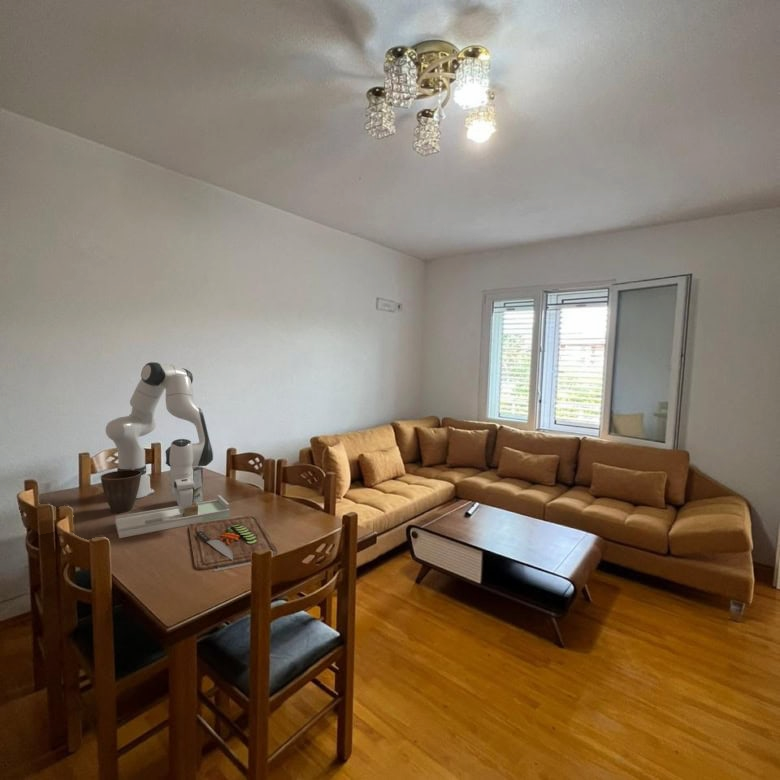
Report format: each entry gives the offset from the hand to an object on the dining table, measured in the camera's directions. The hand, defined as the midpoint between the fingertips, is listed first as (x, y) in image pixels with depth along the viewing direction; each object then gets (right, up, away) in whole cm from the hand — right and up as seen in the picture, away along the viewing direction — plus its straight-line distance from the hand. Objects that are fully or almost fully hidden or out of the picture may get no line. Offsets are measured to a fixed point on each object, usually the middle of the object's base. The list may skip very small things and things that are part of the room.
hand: (181, 512), depth 172 cm
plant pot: (-32, -2, +11) cm, 34 cm away
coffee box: (-8, -2, +24) cm, 25 cm away
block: (+3, -2, +2) cm, 4 cm away
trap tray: (-4, -4, +2) cm, 5 cm away
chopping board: (+26, -7, -15) cm, 31 cm away
